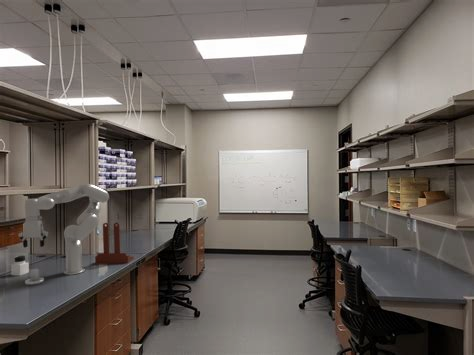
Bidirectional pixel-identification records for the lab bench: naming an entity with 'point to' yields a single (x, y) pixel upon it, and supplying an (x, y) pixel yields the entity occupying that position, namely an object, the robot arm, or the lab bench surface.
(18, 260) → the medicine bottle
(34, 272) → the white light bulb
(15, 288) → the lab bench surface
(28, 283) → the shallow grey dish
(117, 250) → the twin post bracket
